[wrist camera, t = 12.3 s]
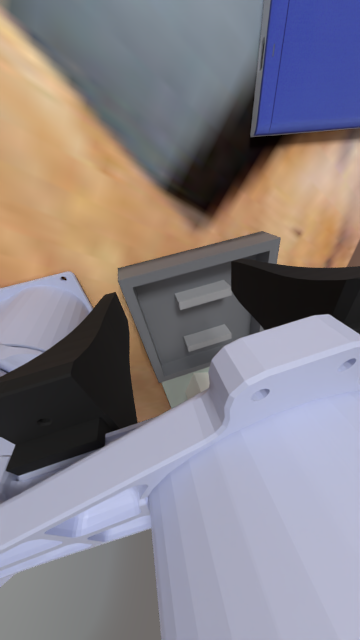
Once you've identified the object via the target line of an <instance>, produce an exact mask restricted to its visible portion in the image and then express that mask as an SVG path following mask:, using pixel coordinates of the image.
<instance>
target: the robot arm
mask: <svg viewBox="0 0 360 640" xmlns="http://www.w3.org/2000/svg"><path fill="white" fill-rule="evenodd" d="M61 277H66V279H67V280H63V279H62V278H61ZM231 291H232V292H233V294H234V296H235V297H236V299H237V300H238V301H239V303H240V304H241V305H242V306H243V307H244V308H245V309H246V310H247V311H248V312H249V313H250V314H251V315H252V317H253V318H254V319H255V320H256V321H257V322H258V323H259V324H260V325H261V326H262V328H263V329H264V331H261V332H258V333H255V334H251V335H248V336H245V337H242V338H239V339H237V340H235V341H233V342H231V343H229V344H227V345H225V346H224V347H223V348H222V349H221V350H220V351H219V352H218V353H217V354H216V355H215V356H214V357H213V359H212V360H211V364H210V368H209V371H208V374H209V382H210V384H209V388H207V389H206V390H204V391H202V392H200V393H199V394H197V395H195V396H193V397H191V398H190V399H188V400H186V401H184V402H182V403H181V404H179V405H177V406H175V407H173V408H172V409H170V410H168V411H166V412H165V413H163V414H161V415H159V416H157V417H154V418H151V419H148V420H145V421H142V422H139V423H137V417H136V411H135V404H134V398H133V390H132V383H131V375H130V363H129V326H128V320H127V317H126V315H125V313H124V310H123V308H122V306H121V303H120V301H119V299H118V297H117V294H116V292H114V293H110V294H106V295H104V296H103V298H102V299H101V300H100V301H99V302H98V304H97V305H96V306H95V307H94V309H93V307H92V305H91V304H90V302H89V300H88V298H87V296H86V294H85V293H84V291H83V289H82V287H81V285H80V283H79V282H78V280H77V278H76V276H75V275H74V273H72V272H69V271H68V272H63V273H59V274H55V275H51V276H47V277H43V278H40V279H36V280H32V281H28V282H24V283H20V284H16V285H12V286H8V287H4V288H0V587H1V586H2V585H3V584H5V582H7V581H8V580H9V579H10V578H11V577H12V576H13V575H15V574H16V573H18V572H22V571H24V570H27V569H30V568H33V567H36V566H39V565H41V564H44V563H47V562H50V561H52V560H56V559H59V558H62V557H65V556H68V555H70V554H74V553H77V552H80V551H83V550H86V549H89V548H92V547H95V546H98V545H102V544H105V543H108V542H111V541H114V540H117V539H120V538H123V537H126V536H129V535H132V534H135V533H139V532H142V531H145V530H148V529H152V540H153V550H154V561H155V571H156V572H155V573H156V584H157V594H158V605H159V616H160V627H161V639H162V640H360V266H358V267H343V268H307V267H294V266H286V265H278V264H272V263H267V262H261V261H256V260H250V259H238V260H234V261H231Z"/></svg>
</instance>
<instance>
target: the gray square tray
mask: <svg viewBox="0 0 360 640" xmlns="http://www.w3.org/2000/svg"><path fill="white" fill-rule="evenodd" d="M280 239H281V238H280V237H277V236H274V235H272V234H269V233H266V232H263V231H261V232H258V233H254V234H250V235H246V236H242V237H238V238H234V239H230V240H226V241H223V242H219V243H215V244H211V245H207V246H203V247H199V248H195V249H191V250H188V251H184V252H180V253H176V254H172V255H168V256H164V257H160V258H156V259H153V260H149V261H145V262H141V263H137V264H133V265H129V266H125V267H122V268H118V282H119V285H120V287H121V290H122V292H123V295H124V297H125V300H126V302H127V305H128V307H129V310H130V312H131V315H132V317H133V320H134V322H135V324H136V327H137V329H138V332H139V334H140V337H141V339H142V342H143V344H144V347H145V349H146V352H147V354H148V357H149V359H150V362H151V364H152V367H153V369H154V372H155V374H156V377H157V379H158V382H159V383H161V382H164V381H167V380H170V379H173V378H176V377H180V376H183V375H186V374H189V373H192V372H195V371H198V370H201V369H204V368H207V367H210V364H211V360H212V359H213V357H214V356H215V355H216V354H217V353H218V352H219V351H220V350H221V349H222V348H223V347H224V346H225V345H227V344H229V343H231V342H233V341H235V340H237V339H239V338H242V337H245V336H248V335H251V334H255V333H258V332H261V331H264V329H263V328H262V326H261V325H260V324H259V323H258V322H257V321H256V320H255V319H254V318H253V317H252V315H251V314H250V313H249V312H248V311H247V310H246V309H245V308H244V307H243V306H242V305H241V304H240V303H239V301H238V300H237V299H236V297H235V296H234V294H233V292H232V291H231V261H234V260H238V259H250V260H256V261H261V262H267V263H272V264H277V258H278V251H279V245H280Z"/></svg>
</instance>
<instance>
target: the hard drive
mask: <svg viewBox="0 0 360 640" xmlns="http://www.w3.org/2000/svg"><path fill="white" fill-rule="evenodd" d="M357 128H360V0H264V7H263V17H262V27H261V37H260V46H259V56H258V66H257V76H256V86H255V96H254V106H253V115H252V125H251V135H250V137H258V136H273V135H285V134H297V133H309V132H322V131H333V130H345V129H357Z"/></svg>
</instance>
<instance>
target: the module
mask: <svg viewBox="0 0 360 640" xmlns="http://www.w3.org/2000/svg"><path fill="white" fill-rule="evenodd" d="M209 384H210V382H209V374H208V372H204V373H193V375H192V378H191V380H190V382H189V384H188V387H187V389H186V391H185V393H186V396H187V399H190V398H191V397H193V396H195V395H197V394H199V393H200V392H202V391H204V390H206V389H207V388H209Z"/></svg>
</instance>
